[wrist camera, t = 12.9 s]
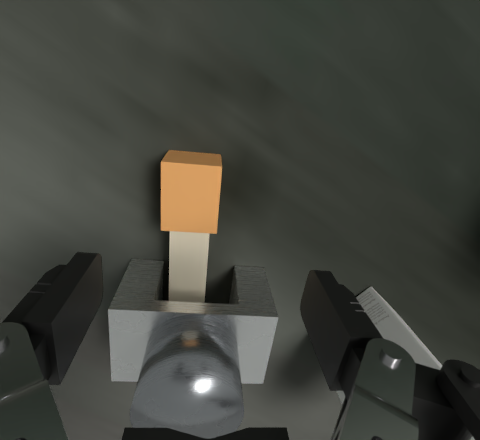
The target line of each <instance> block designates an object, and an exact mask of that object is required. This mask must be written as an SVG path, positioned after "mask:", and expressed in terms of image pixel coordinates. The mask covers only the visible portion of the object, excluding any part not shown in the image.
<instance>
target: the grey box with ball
mask: <svg viewBox="0 0 480 440" xmlns="http://www.w3.org/2000/svg"><path fill="white" fill-rule="evenodd" d="M163 273H164V261H161V260H147V259H131V261H130V263H129V266H128V268H127V270H126V272H125V274H124V276H123V278H122V281H121V283H120V285H119V287H118V289H117V291H116V293H115V296H114V298H113V300H112V302H111V304H110V306H109V308H108V318H109V339H110V360H111V381H130V382H137V386H136V390H135V394H134V398H133V402H132V406H131V410H130V421H131V424H132V426H133V428H170V429H173V430H177V431H180V432H184V433H187V434H191V435H195V436H198V437H202V438H206V439H211V438H215V437H218V436H222V435H225V434H229V433H232V432H235V431H236V430H237V428H238V427H239V426H240V424H241V422H242V419H243V416H244V405H243V395H242V385H241V383H250V384H263V381H264V377H265V373H266V368H267V364H268V360H269V355H270V351H271V347H272V343H273V338H274V334H275V330H276V325H277V321H278V314H277V311H276V307H275V304H274V300H273V297H272V293H271V290H270V287H269V283H268V280H267V276H266V273H265V269H264V267H249V266H234V272H233V279H232V286H231V293H230V299H229V304H218V303H199V302H179V301H162V298H163Z"/></svg>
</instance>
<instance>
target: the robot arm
mask: <svg viewBox="0 0 480 440" xmlns="http://www.w3.org/2000/svg"><path fill="white" fill-rule="evenodd" d="M102 296H103V273H102V257H101V255H100V254H97V253H83V252H77V253H76V254H75V255H74V257H73V258H72V259H71V260H70V262H69V263H68V264H67V265H58V266H56V267H55V268H53V269H51V270H50V271H48V272H46V273H45V274H44V275H43V276H42V278H41V279H40V280H39V281H38V282H37V285H36V284H35V286H34V287H33V288H32V289H31V290H30V293H28V294H27V295H26V296H25V297H24V298H23V299H22V300H21V302H20V303H19V304H18V305H17V306H16V307H15V308H14V310H13V311H12V312H11V313H10V314H9V315H8V316H7V318H6V319H5V320H4V321H3V322H2V323H0V440H68V437H67V434H66V431H65V428H64V425H63V423H62V420H61V417H60V414H59V411H58V409H57V406H56V403H55V400H54V397H53V394H52V392H51V389H50V386H49V384H51V385H60V384H61V382H62V380H63V378H64V376H65V374H66V372H67V370H68V368H69V366H70V364H71V362H72V360H73V358H74V356H75V354H76V352H77V350H78V348H79V346H80V344H81V342H82V340H83V338H84V336H85V334H86V332H87V330H88V328H89V326H90V324H91V322H92V320H93V318H94V316H95V314H96V312H97V310H98V308H99V306H100V304H101V301H102ZM300 310H301V316H302V319H303V322H304V324H305V327H306V329H307V332H308V335H309V337H310V340H311V342H312V345H313V347H314V350H315V353H316V355H317V358H318V360H319V363H320V366H321V368H322V371H323V373H324V376H325V378H326V381H327V384H328V386H329V389H330V391H343V392H344V394H345V399H344V401H343V404H342V407H341V410H340V413H339V416H338V419H337V422H336V425H335V428H334V431H333V434H332V437H331V440H470V439H471V437H472V436H473V437H474V439H475V440H480V370H479V369H477V368H476V367H474V366H472V365H470V364H468V363H466V362H463V361H459V360H447V361H445V362H444V364H443V366H442V367H441V369H440V370H438V369H435V368H431V367H428V366H424V365H421V364H418V363H415V362H414V360H413V358H412V357H411V355H410V354H409V353H408V352H407V351H406V350H405V349H404V348H402V347H401V346H399V345H398V344H396V343H394V342H392V341H390V340H386V339H384V338H383V337H382V335H381V334H380V333H379V331H378V330H377V328H376V327H375V325H374V324H373V322H372V321H371V319H370V318H369V316H368V315H367V313H366V312H364V311H365V310H364V309H363V307H362V306H361V304H359V301H358V300H357V298H356V297H355V296H354V294H353V293H352V292H351V291H350V290H348V289H347V288H346V287H345V286H344V285H341V284H338V282H337V281H336V279H335V278H334V276H333V274H332V273H331V272H330V271H319V270H311V271H310V272H309V274H308V277H307V281H306V285H305V288H304V292H303V296H302V299H301V305H300ZM122 440H289V437H288V432H287V428H246V429H242V430H239V431H236V432H232V433H229V434H225V435H222V436H218V437H215V438H211V439H206V438H202V437H198V436H195V435H191V434H187V433H184V432H180V431H177V430H173V429H170V428H125V429H124V433H123V437H122Z"/></svg>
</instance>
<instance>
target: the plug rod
mask: <svg viewBox="0 0 480 440" xmlns="http://www.w3.org/2000/svg"><path fill="white" fill-rule="evenodd" d="M221 175H222V161H221V155H220V154H209V153H198V152H186V151H175V150H169V151H168V152H167V154H166V155H165V156H164V158H163V159H162V161H161V231H170V245H169V301H179V302H199V303H205V289H206V275H207V261H208V247H209V233H212V234H217V223H218V211H219V199H220V187H221Z"/></svg>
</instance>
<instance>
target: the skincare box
mask: <svg viewBox="0 0 480 440" xmlns="http://www.w3.org/2000/svg"><path fill="white" fill-rule="evenodd" d="M356 298H357V300H358V301H359V304H361V306H362V307H363V309H364V310H365V311H364V312H366V313H367V315H368V316H369V318H370V319H371V321H372V322H373V324H374V325H375V327H376V328H377V330H378V331H379V333H380V334H381V335H382V337H383V338H384V339H386V340H390V341H392V342H394V343H396V344H398V345H399V346H401V347H402V348H404V349H405V350H406V351H407V352H408V353H409V354H410V355H411V357H412V358H413V360H414V362H415V363H418V364H421V365H424V366H428V367H431V368H435V369H438V370H440V369H441V367H442V365H441V364H440V363H439V361H438V360H437V359H436V358H435V357H434V356H433V354H432V353H431V352H430V351H429V350H428V349H427V347H426V346H425V345H424V344H423V343H422V341H421V340H420V339H419V338H418V337H417V336H416V334H415V333H414V332H413V331H412V330H411V329H410V327H409V326H408V325H407V324H406V323H405V322H404V321H403V319H402V318H401V317H400V316H399V315H398V314H397V313H396V312H395V310H394V309H393V308H392V307H391V306H390V305H389V304H388V303H387V302H386V301H385V300H384V299H383V298H382V297H381V296H380V295H379V294H378V293H377V292H376V291H375V290H374V289H373V288H372V287H369V288H368V289H366V290H365V291H364V292H362V293H361V294H360V295H358V296H357V297H356ZM336 392H337V394H338V396H339V399H340V401H341V403H342V404H343V401H344V399H345V394H344V392H343V391H336ZM470 440H475V439H474V437H473V436H472V437H471V439H470Z"/></svg>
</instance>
